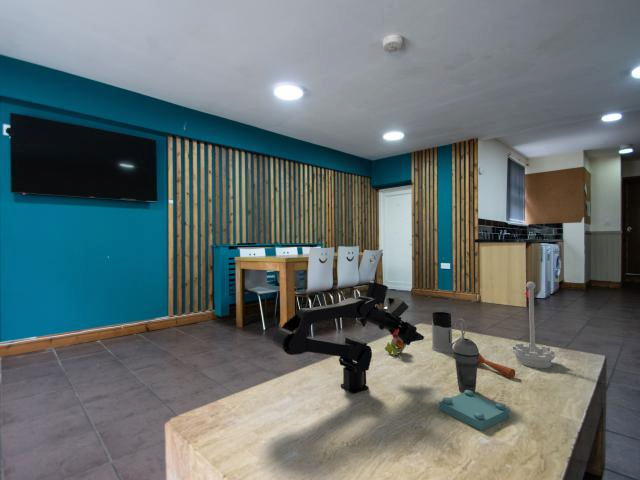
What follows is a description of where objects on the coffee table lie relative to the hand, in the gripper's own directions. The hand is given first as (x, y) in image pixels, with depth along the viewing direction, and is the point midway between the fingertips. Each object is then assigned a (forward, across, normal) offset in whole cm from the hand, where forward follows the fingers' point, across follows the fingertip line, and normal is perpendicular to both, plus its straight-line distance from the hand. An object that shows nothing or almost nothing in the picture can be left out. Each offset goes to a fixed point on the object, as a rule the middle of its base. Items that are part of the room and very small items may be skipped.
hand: (416, 332), depth 111 cm
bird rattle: (+11, +20, +15) cm, 27 cm away
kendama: (+30, -4, +2) cm, 30 cm away
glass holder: (+31, +17, +5) cm, 36 cm away
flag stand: (+49, -4, -6) cm, 50 cm away
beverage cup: (+12, -17, +8) cm, 22 cm away
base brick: (+5, -28, +9) cm, 30 cm away
